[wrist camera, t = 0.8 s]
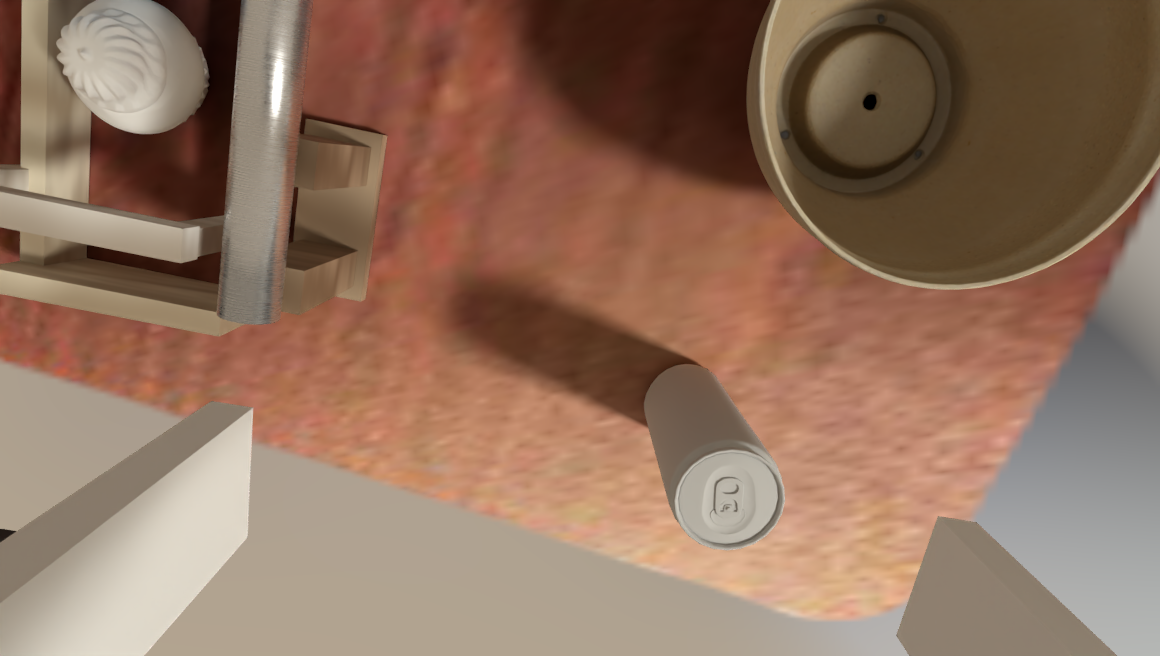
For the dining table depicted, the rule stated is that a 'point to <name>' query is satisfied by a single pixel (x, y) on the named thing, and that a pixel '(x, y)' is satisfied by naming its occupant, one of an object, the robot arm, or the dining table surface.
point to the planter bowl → (956, 128)
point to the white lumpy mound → (134, 65)
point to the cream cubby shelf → (333, 215)
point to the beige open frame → (88, 207)
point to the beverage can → (711, 461)
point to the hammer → (262, 158)
